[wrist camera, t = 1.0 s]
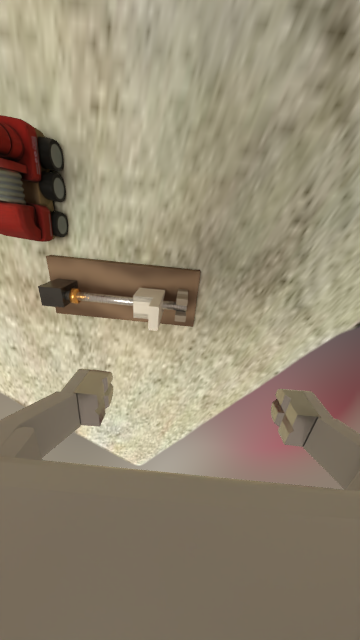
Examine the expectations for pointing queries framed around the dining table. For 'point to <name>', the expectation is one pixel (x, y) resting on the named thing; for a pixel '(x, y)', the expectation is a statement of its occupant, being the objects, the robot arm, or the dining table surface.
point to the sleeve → (149, 306)
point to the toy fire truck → (29, 182)
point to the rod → (85, 296)
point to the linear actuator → (126, 287)
